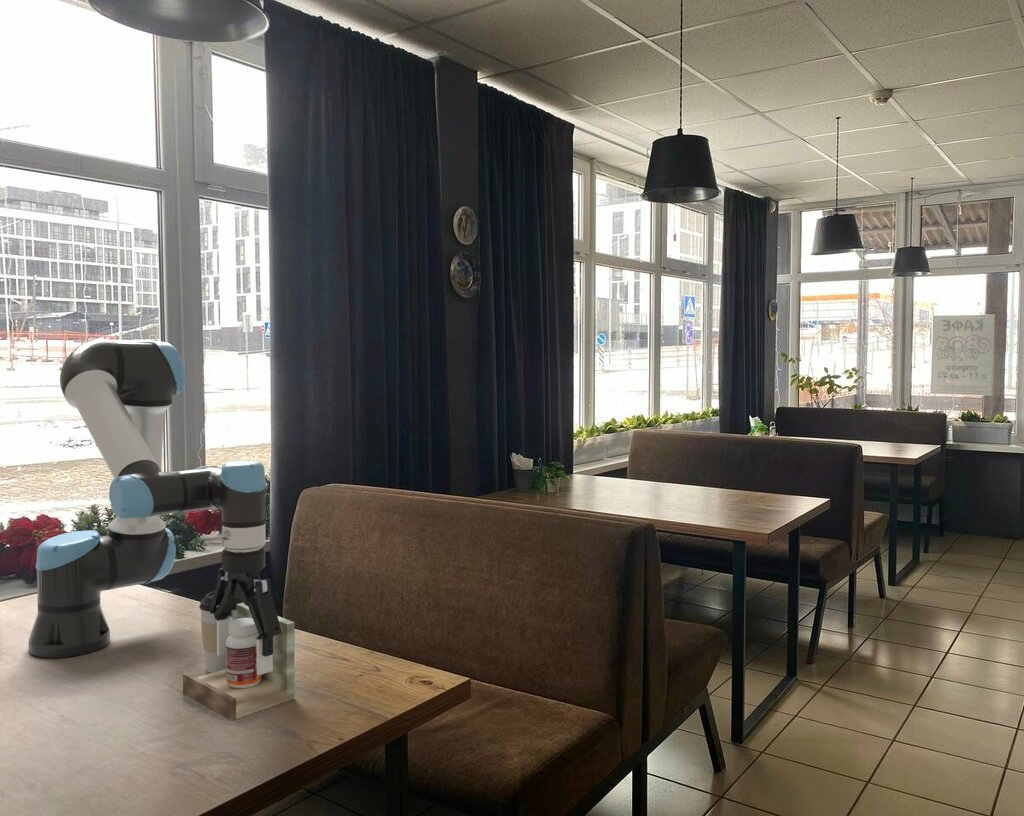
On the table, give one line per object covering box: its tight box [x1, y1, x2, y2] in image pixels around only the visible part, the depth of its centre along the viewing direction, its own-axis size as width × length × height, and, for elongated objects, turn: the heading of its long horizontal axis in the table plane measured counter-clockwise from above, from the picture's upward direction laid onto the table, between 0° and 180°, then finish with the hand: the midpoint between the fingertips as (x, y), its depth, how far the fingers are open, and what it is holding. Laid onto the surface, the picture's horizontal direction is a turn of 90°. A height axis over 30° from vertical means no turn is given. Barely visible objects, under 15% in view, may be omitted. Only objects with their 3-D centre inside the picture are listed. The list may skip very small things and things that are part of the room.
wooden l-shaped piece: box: [182, 603, 295, 721], centre depth 149 cm, size 17×12×14 cm
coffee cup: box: [199, 590, 244, 674], centre depth 162 cm, size 9×9×15 cm
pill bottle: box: [226, 618, 262, 688], centre depth 150 cm, size 6×6×11 cm
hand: (244, 663), depth 150 cm, fingers open, 13 cm apart
